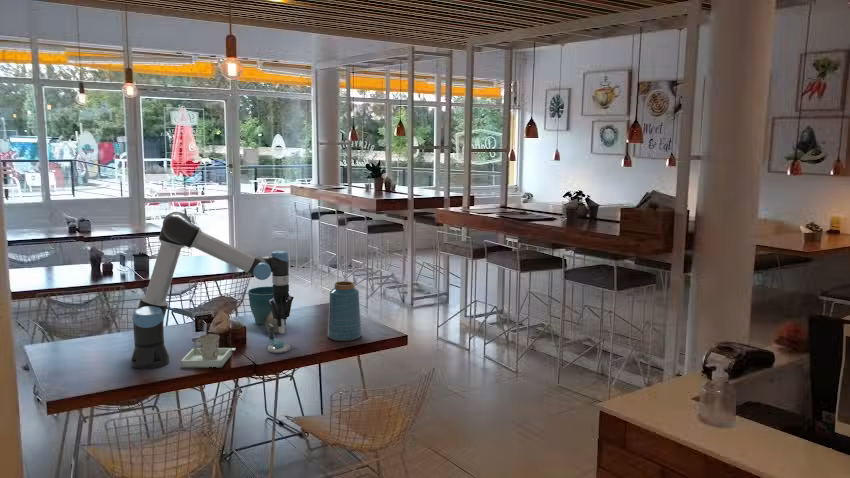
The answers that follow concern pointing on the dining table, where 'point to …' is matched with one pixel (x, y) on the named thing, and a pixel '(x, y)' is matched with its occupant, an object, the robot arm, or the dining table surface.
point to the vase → (344, 312)
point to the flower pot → (260, 302)
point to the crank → (271, 338)
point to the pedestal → (278, 349)
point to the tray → (197, 361)
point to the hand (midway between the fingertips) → (281, 332)
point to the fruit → (271, 322)
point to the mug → (208, 346)
